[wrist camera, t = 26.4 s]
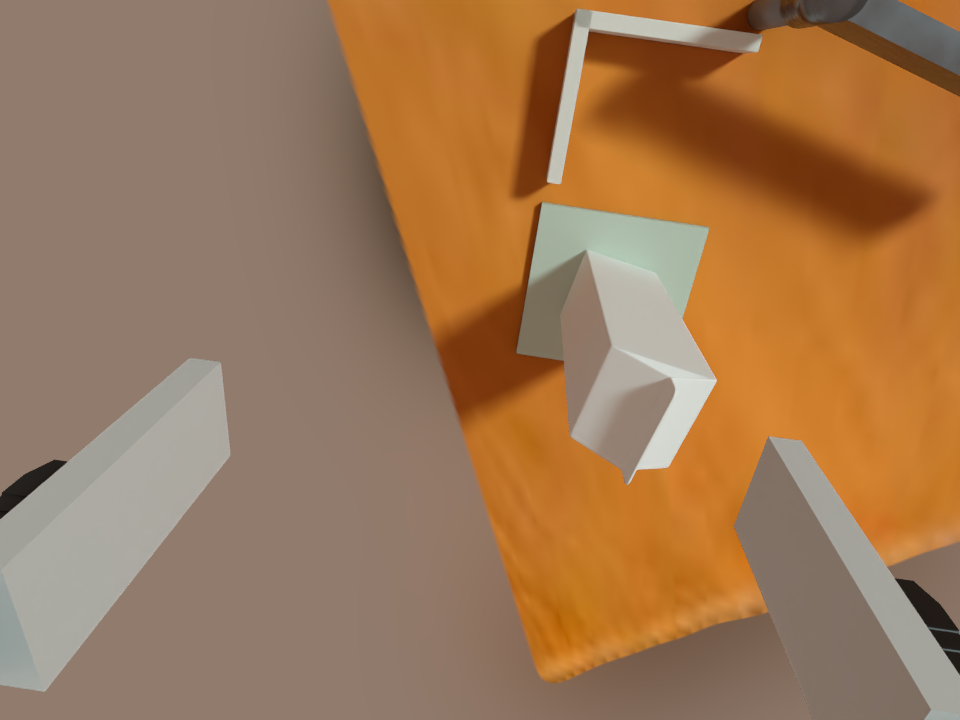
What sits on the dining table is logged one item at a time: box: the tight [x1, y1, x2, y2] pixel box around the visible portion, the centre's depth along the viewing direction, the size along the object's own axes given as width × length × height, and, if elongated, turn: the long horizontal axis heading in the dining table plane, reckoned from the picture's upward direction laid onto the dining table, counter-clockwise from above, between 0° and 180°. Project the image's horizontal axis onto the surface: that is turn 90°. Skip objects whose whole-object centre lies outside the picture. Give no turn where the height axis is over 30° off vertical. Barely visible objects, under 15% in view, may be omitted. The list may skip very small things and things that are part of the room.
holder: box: [547, 0, 787, 184], centre depth 40 cm, size 14×14×7 cm
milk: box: [560, 250, 717, 485], centre depth 40 cm, size 6×6×22 cm
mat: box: [516, 202, 709, 361], centre depth 50 cm, size 13×13×1 cm
